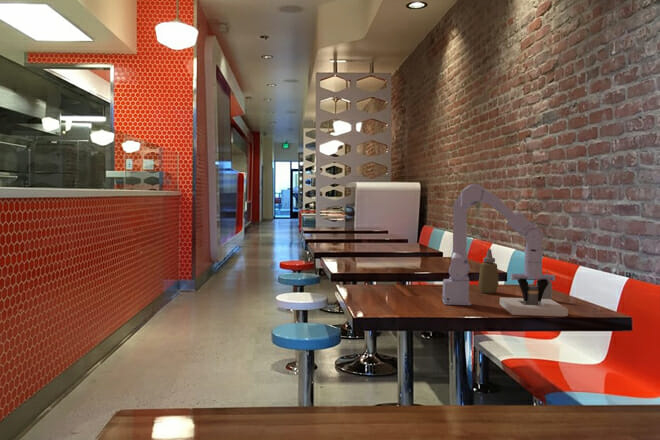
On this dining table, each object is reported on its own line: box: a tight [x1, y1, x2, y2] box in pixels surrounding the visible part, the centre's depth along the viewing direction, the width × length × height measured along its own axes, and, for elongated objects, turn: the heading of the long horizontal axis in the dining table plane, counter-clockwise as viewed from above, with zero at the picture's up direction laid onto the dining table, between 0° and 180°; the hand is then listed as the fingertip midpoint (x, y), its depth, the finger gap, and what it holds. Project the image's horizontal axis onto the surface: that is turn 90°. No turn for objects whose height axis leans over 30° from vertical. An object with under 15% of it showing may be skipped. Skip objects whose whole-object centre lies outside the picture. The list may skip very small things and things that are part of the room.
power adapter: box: [535, 271, 553, 300], centre depth 206 cm, size 3×5×12 cm, turn 58°
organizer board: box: [499, 297, 569, 317], centre depth 187 cm, size 18×18×2 cm
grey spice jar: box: [526, 285, 539, 305], centre depth 187 cm, size 4×4×7 cm
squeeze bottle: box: [478, 248, 500, 295], centre depth 221 cm, size 8×8×18 cm
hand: (532, 300), depth 187 cm, fingers closed on grey spice jar, 4 cm apart
